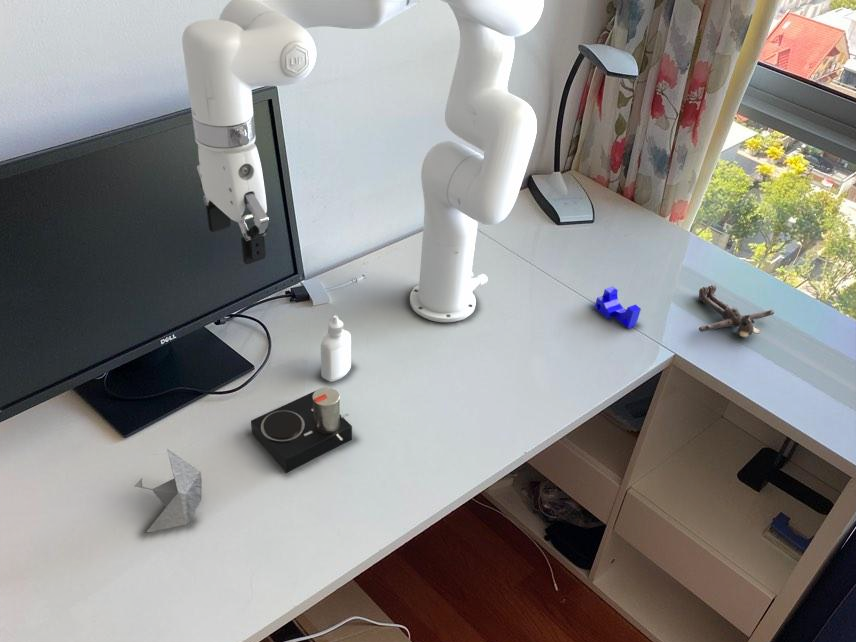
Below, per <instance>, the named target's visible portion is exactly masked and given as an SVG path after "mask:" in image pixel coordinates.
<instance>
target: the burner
mask: <svg viewBox="0 0 856 642" xmlns="http://www.w3.org/2000/svg"><path fill="white" fill-rule="evenodd" d="M304 428H305V424H304V420H303V419H302V417H301V416H300V415H298V414H297V413H294V412H291V411H276V412H273V413H271V414H269V415H268V416H266V417H265V418H264V419H263V421H262V423H261V431H262V433H263V435H264V436H265V437H266V438H267V439H269V440H271V441H275V442H289V441H292V440H294V439H296V438H298V437H299V436H300V435H301V434H302V433H303V431H304Z"/></svg>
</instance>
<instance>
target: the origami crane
mask: <svg viewBox="0 0 856 642" xmlns="http://www.w3.org/2000/svg"><path fill="white" fill-rule="evenodd" d="M166 451H167V454H168V459H169V463H170V467H171V471H172V476H173V478H172V479H169V480H168V481H166V482H164V483H161V484H159V485H158V486H155V487H154V488H148V487H144V486H143V477H141V478H140V479H139V480H138V481H137V482H136V483H135V484H134V487H135V488H141V489H146V490H150V491H152V492H153V493H154V494H155V495H156V497H157V498H158V499H159V501H160V503H162V504H163V505H164V507H165V508H164V509H163V511H162V512H161V513H160V514H159V515H158V517H157V518H156V519H155V520H154V521H153V522H152V524H151V525H150V526H149V527H148V529H147V530H146V531H145V534H147V533H153V532H158V531H163V530H168V529H172V528H177V527H181V526H187V525H189V524H190V522H191V520H192V518H193V517H194V515H195V513H196V511H197V509H198V507H199V506H200V503H201V501H202V494H203V493H202V491H203V490H202V488H203V486H202V483H203V480H202V472H201V470H199V469H198V468H196V467H195V466H193V465H192V464H190V463H189V462H188V461H186V460H184V459H183V458H182V457H180V456H179V455H177V454H175V453H174V452H173V451H171V450H170V449H169V448H167V449H166Z"/></svg>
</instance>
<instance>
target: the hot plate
mask: <svg viewBox="0 0 856 642" xmlns="http://www.w3.org/2000/svg"><path fill="white" fill-rule="evenodd" d="M315 391H316V390H314V391H311V392H309V393H307V394H305V395H303V396H301V397H299V398H296V399H295V400H293V401H290V402H288V403H286V404H284V405H282V406H279V407H277V408H275V409H272V410H270V411H269V412H266V413H263V414H262V415H259V416H258V417H256V418H253V419H250V426H251V434H252V436H253V437H254V439H256V440H257V441H258V443H259V444H260V445H261V446H262V447H263V448H264V449H265V451H266V452H267V453H268V454H269V455H270V456H271V457H272V459H274V461H275V462H276V463H277V464H278V465H279V466H280V468H281V469H282V470H283V471H284V472H285V474H288V473H289V472H291V471H293V470H296V469H298V468H299V467H301V466H304V465H305V464H307V463H309V462H311V461H313V460H315V459H317V458H319V457H320V456H322V455H324V454H327V453H328V452H331V451H333V450H334V449H336V448H339V447H341V446H342V445H344V444H346V443H348V442H351V441H352V440H353V425H351V424H350V423H349V422H348V421H347V419H345V417H347V416H350V413H349V412H346V413H344V414H343V415H341V414H340V426H339V428H338V430H336V431H335V432H333V433H329V434H324V433H320V432H318V431H317V430H316V429H315V428H314V419H313V394H314V392H315ZM276 411H291V412H294V413H297V414H298V415H300V416H301V417H302V419H303V420H304V424H305V428H304V431H303V433H302V434H301V435H300V436H299V437H298V438H296V439H294V440H292V441H289V442H275V441H271V440H269V439H267V438H266V437H265V436H264V435H263V433H262V431H261V423H262V421H263V419H264V418H265V417H266V416H268V415H269V414H271V413H273V412H276Z"/></svg>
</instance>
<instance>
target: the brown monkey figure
mask: <svg viewBox="0 0 856 642" xmlns="http://www.w3.org/2000/svg"><path fill="white" fill-rule="evenodd" d="M716 291H717V286H716V285H712V284H711V285H709V286H703V287H700V288H699V291H698V300H699V301H701V302H703V303H704V304H706V305H707V306H708V307H709V308H711V309H712V310H713V311H714V312H716V313H717V314H719V315H720V316H721V318H722V319H723V320H721V321H718V322H714V323H710V324H707V325H702V326H699V327H698V331H700V332H708V331H712V330H717V329H720V328H726V327H732V328H737V331H738V335H739V336H740V337H742V338H748V337H749V336H751V335H752V333H753V334H756V335H758V334H761V330H760V329H759V328H758V327H755V323H756V321H755V320H758V319H762V318H766V317H769V316H773V315H774V314H775V310H774V309H768V310H765V311H761V312H755V313H749V314H745V315H742V313H741V312H740V310H739V308H738V307H736V306H729V305H728V304H726V303H724V302H723V301H722V300H721V299H719V298H718V297H717V296H716V295H715V292H716Z"/></svg>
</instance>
